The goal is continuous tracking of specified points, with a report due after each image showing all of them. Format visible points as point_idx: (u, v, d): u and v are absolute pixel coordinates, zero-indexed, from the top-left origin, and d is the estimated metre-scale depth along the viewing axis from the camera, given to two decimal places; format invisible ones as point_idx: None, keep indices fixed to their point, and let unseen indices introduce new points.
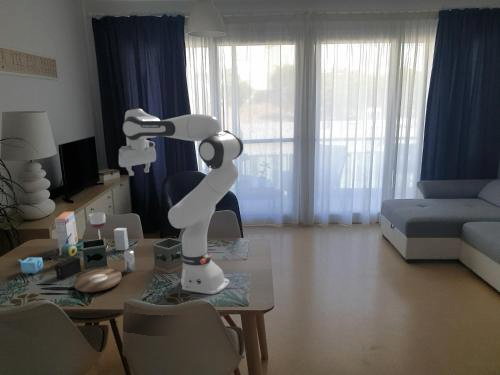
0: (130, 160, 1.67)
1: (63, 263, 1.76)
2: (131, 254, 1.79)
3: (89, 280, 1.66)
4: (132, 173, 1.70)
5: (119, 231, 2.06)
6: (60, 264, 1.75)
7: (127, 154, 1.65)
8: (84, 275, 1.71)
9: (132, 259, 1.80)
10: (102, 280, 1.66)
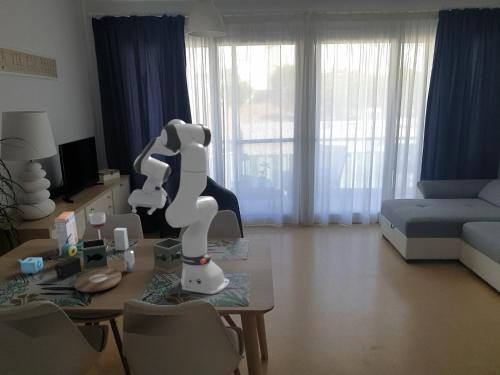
0: (134, 198, 1.92)
1: (63, 263, 1.76)
2: (131, 254, 1.79)
3: (89, 280, 1.66)
4: (133, 209, 1.89)
5: (119, 231, 2.06)
6: (60, 264, 1.75)
7: (134, 193, 1.94)
8: (84, 275, 1.71)
9: (132, 259, 1.80)
10: (102, 280, 1.66)
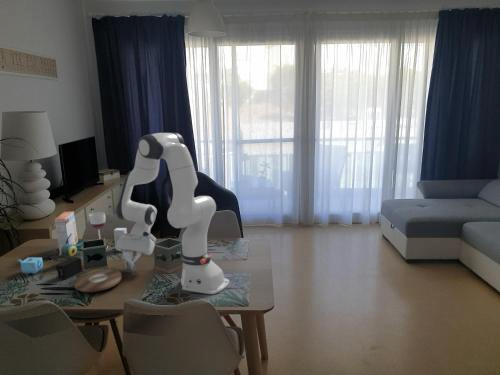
0: (122, 243, 1.85)
1: (65, 263, 1.76)
2: (131, 254, 1.79)
3: (89, 280, 1.66)
4: (123, 257, 1.82)
5: (119, 231, 2.06)
6: (62, 264, 1.75)
7: (122, 238, 1.87)
8: (84, 275, 1.71)
9: None
10: (102, 280, 1.66)
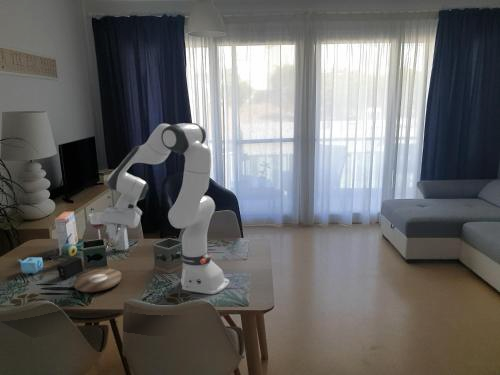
0: (106, 216, 1.76)
1: (65, 263, 1.76)
2: (115, 227, 1.70)
3: (89, 280, 1.66)
4: (107, 230, 1.73)
5: None
6: (62, 264, 1.74)
7: (106, 211, 1.78)
8: (84, 275, 1.71)
9: None
10: (102, 280, 1.66)
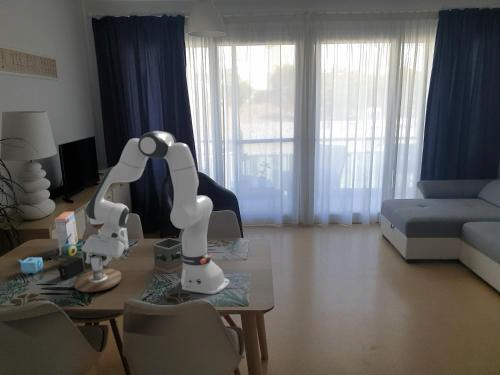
0: (89, 245, 1.71)
1: (66, 263, 1.76)
2: (98, 260, 1.65)
3: (89, 280, 1.66)
4: (87, 259, 1.68)
5: None
6: (64, 264, 1.74)
7: (89, 240, 1.72)
8: (84, 275, 1.71)
9: (100, 266, 1.66)
10: (102, 280, 1.66)
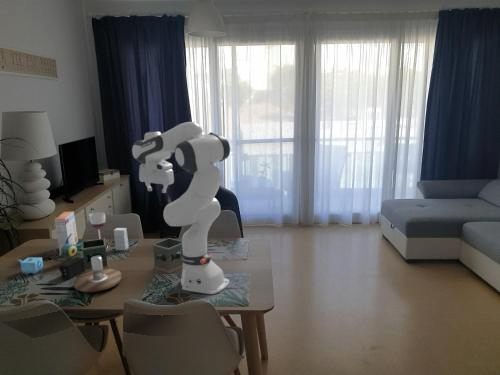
0: (144, 176, 1.85)
1: (68, 263, 1.75)
2: (99, 260, 1.65)
3: (89, 280, 1.66)
4: (148, 189, 1.86)
5: (119, 231, 2.06)
6: (65, 264, 1.74)
7: (141, 171, 1.85)
8: (84, 275, 1.71)
9: (100, 266, 1.66)
10: (102, 280, 1.66)
